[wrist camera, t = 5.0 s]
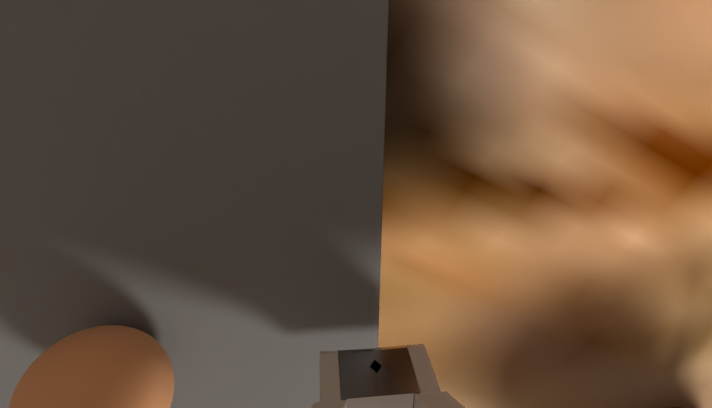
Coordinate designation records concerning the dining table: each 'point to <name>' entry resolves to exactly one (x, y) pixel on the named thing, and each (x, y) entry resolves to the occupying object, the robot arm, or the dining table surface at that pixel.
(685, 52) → the dining table surface
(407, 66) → the dining table surface
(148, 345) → the ball
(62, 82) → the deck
